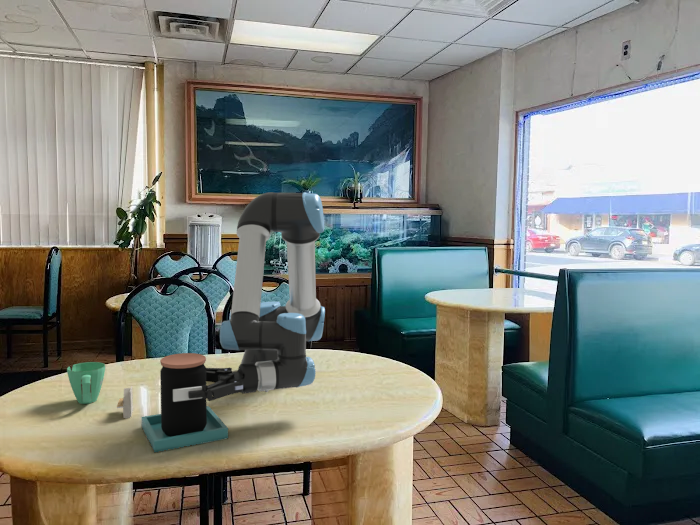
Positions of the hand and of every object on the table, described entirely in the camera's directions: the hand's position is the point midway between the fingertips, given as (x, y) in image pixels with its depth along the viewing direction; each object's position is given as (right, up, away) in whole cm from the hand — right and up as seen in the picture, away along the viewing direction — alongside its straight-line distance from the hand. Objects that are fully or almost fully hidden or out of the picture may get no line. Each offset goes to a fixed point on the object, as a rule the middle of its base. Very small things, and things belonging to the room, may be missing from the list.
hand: (169, 387), depth 136 cm
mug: (-30, -10, +22) cm, 39 cm away
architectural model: (-16, -11, +14) cm, 24 cm away
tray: (+3, -12, +3) cm, 12 cm away
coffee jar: (+3, -11, +3) cm, 12 cm away
